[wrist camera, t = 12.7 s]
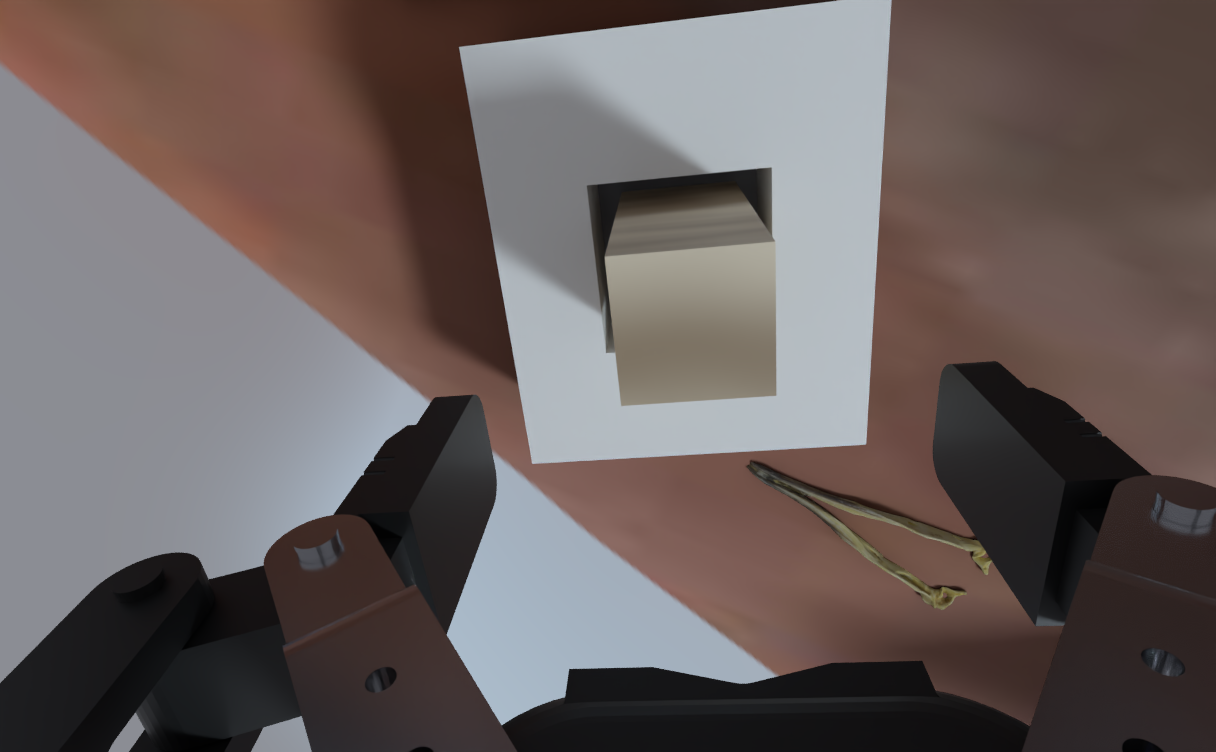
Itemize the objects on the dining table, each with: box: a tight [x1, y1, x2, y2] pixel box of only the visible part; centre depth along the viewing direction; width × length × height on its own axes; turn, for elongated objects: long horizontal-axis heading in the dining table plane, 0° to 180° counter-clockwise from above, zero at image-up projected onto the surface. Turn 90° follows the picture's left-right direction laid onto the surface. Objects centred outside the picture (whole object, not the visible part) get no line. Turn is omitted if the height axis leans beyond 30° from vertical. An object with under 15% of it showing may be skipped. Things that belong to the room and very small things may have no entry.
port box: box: [459, 0, 891, 464], centre depth 24 cm, size 14×12×5 cm
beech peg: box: [605, 181, 776, 406], centre depth 21 cm, size 4×4×9 cm
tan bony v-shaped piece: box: [747, 462, 992, 610], centre depth 32 cm, size 4×13×2 cm, turn 66°
